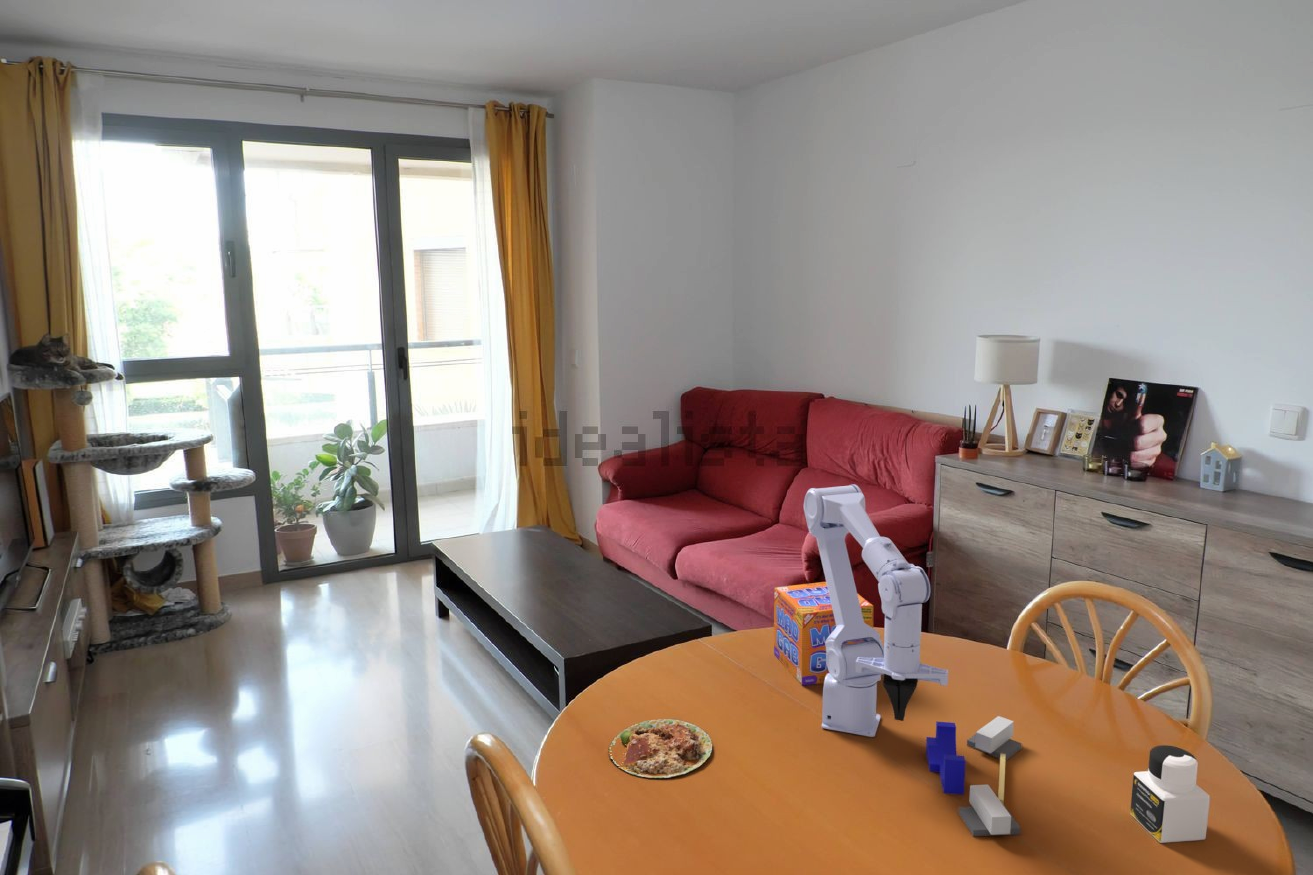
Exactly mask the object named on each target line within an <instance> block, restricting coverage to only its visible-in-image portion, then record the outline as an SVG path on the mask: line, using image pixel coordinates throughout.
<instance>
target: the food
mask: <svg viewBox="0 0 1313 875" xmlns="http://www.w3.org/2000/svg"><path fill="white" fill-rule="evenodd" d="M631 731H635V734H633V733H632V732H631ZM618 738H621V741H622V742H623V743H624V744H626V746H627V751H626V753H625V756H624V757H625V758H624V757H623V759H624V760H623V761H624V762H623V761H622V763H623V767H618V769H620V770H623V771H624V772H626V773H627V774H630V775H633V776H636V777H641V778H645V779H646V778H647V779H670V778H674V777H679V776H682V775H685V774H687V773H689V772H692V771H693V770H695V769H698V768H699V767H701V766H702V765H703V764H704V763H705V762H706V761H707V759H709V758H710V756H711V753H712V751H713V744H712V739H711V736H710V735H709V734H708V732H707V731H705V730H704V729H702V728H701V727H699V726H697V725H695V724H694V723H691V722H687V721H685V720H684V721H683V720H681V719H678V718H673V719H668V718H667V719H666V718H664V719H663V718H660V719H659V718H658V719H649V720H644V721H641V722H638V723H636V724H632V725H630V726H628V727H626V728H624V730H623V731H620V732H619V733H618V734H616V736H615V737H613V740H612V741H611V742H610V745H609V746H608V750H609V751H608V753H609V752H612V750H611V747H610V746H612V745H615V743H616V740H617V739H618ZM622 742H621V743H622ZM623 743H622V744H623ZM624 744H623V745H624ZM626 746H625V747H626ZM609 755H612V754H608V756H609ZM609 759H610V760H611V759H613V756H611V757H610V756H609ZM691 760H698V761H697V762H696V763H695V764H694V765H692V764H691V763H687V761H691ZM611 762H612V763H613V765H615V766H616V767H617V766H620V765H619V764H617V763H616V761H614V760H613V761H611ZM626 768H629V769H626ZM628 770H632V771H633V772H631V771H628ZM634 771H636V772H634ZM637 773H640V774H637ZM641 773H645V774H642V775H641ZM646 773H648V774H646ZM651 773H653V774H654V775H649V774H651ZM658 773H659V774H661V773H662V774H663V773H664V774H666V775H656V776H655V774H658Z"/></svg>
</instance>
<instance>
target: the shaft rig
mask: <svg viewBox="0 0 1313 875" xmlns="http://www.w3.org/2000/svg"><path fill="white" fill-rule="evenodd" d="M1014 724H1015V721H1014V720H1011V719H1008V718H1005V717H1002V716H1000V715H997V716H996V717H995V718H994V719H992V720H991V721H989V722H988V723H986V724H985V725H983V727H981V728H980V729H978V730H977V731H976V732H975V734H974V735H972V736H971V737H969V738H968V739H967V740H966V741H967V743H966V746H968V745H969V746H968V747H970V746H971V747H970V748H972V747H973V749H974V750H978V751H980V752H983V753H985V752H986V753H985V754H987V753H988V754H987V755H990V756H992V757H995V758H998V759H999V777H998V794H997V795H996V793H995V792H994V791H993V789H992V788H991V787H990V785H989V784H973V785H972V784H971V785H970V786H969V801H968V802H969V804H970V805H971V806H959V807H958V814H959V816H960V818H961V819H962V822H963V823H964V824H965V826H966V827H967V829H968V830H969V832H970V834H971V835H972V836H973V837H984V836H985V837H986V836H989V837H990V836H1006V835H1007V836H1009V835H1010V836H1011V835H1012V836H1013V835H1021V826H1020V825H1019V824H1018V822H1017V821H1016V820H1015V818H1014V817H1013V816H1012V814H1011V812H1010V811H1009V810H1008V809H1007V807H1006V806H1005V804H1004V799H1005V781H1006V780H1005V779H1006V778H1005V777H1006V762H1007V761H1008V760H1009V759H1011V758H1012V757H1013V756H1014V755H1015V754H1017V753H1018V752H1019V751H1020V750H1022V743H1021V742H1019V741H1016V740H1013V739H1012V738H1013V737H1014V727H1015V726H1014ZM1016 752H1017V753H1016Z"/></svg>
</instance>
